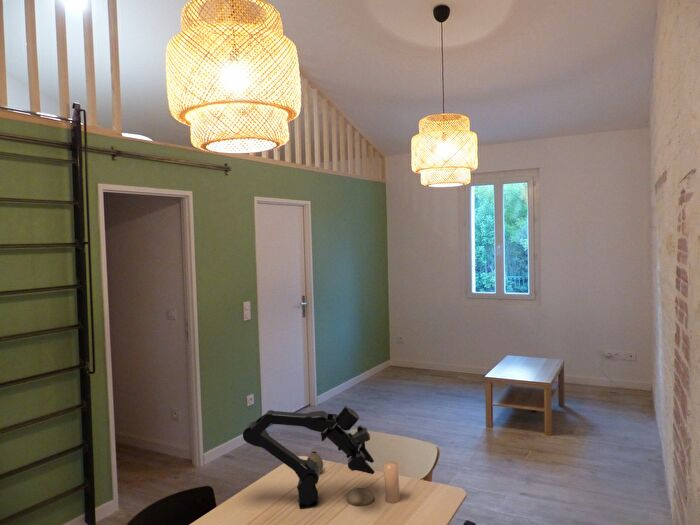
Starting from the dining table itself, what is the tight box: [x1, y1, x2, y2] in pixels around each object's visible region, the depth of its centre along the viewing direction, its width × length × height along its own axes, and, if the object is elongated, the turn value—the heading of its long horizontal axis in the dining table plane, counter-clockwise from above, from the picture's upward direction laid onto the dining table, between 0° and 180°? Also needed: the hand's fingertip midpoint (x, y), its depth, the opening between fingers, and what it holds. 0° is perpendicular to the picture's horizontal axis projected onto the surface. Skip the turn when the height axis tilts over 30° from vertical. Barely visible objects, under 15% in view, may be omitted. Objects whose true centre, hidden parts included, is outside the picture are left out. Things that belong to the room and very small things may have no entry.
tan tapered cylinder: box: [383, 461, 401, 505], centre depth 188 cm, size 5×5×13 cm
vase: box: [308, 450, 324, 474], centre depth 214 cm, size 7×7×9 cm
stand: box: [346, 486, 375, 507], centre depth 190 cm, size 10×10×2 cm
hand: (373, 467), depth 188 cm, fingers open, 9 cm apart
